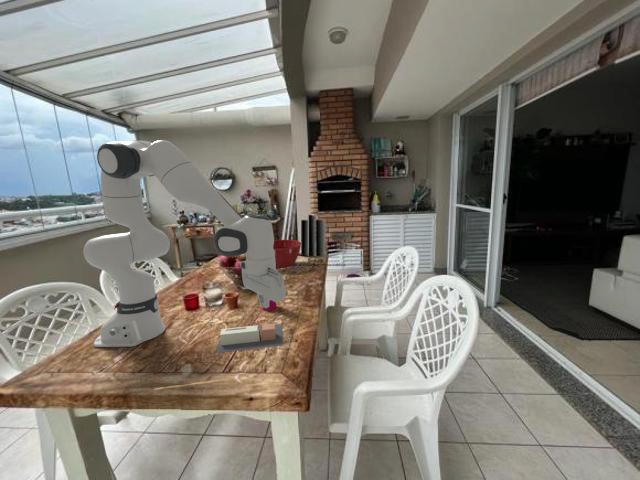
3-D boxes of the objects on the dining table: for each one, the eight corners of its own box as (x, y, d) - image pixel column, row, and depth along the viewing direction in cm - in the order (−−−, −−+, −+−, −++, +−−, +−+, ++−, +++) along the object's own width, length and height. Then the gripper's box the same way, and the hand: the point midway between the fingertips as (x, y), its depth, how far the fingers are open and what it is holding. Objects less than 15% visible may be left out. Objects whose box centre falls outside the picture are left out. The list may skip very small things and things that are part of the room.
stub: (261, 340, 100) (260, 329, 99) (261, 334, 104) (260, 324, 103) (275, 339, 100) (274, 328, 100) (275, 333, 104) (274, 322, 103)
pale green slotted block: (221, 345, 98) (219, 334, 97) (223, 339, 102) (221, 328, 101) (259, 341, 100) (258, 330, 99) (260, 335, 103) (259, 324, 103)
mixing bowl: (311, 264, 193) (310, 242, 190) (277, 275, 173) (276, 250, 170) (284, 258, 213) (283, 238, 210) (251, 267, 192) (249, 244, 189)
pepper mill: (274, 311, 123) (271, 267, 119) (258, 311, 125) (255, 267, 121) (280, 304, 130) (277, 262, 126) (265, 304, 131) (261, 262, 128)
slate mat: (215, 354, 93) (215, 353, 93) (223, 331, 108) (223, 330, 108) (283, 346, 96) (283, 345, 96) (281, 325, 111) (281, 324, 111)
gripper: (289, 269, 84) (291, 313, 87) (254, 258, 99) (257, 295, 102) (271, 274, 80) (274, 320, 83) (237, 261, 95) (241, 300, 97)
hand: (264, 306), depth 92 cm, fingers closed
